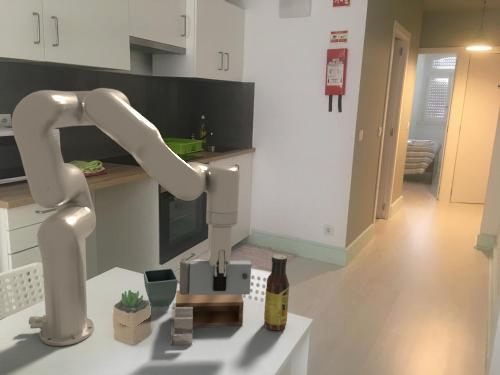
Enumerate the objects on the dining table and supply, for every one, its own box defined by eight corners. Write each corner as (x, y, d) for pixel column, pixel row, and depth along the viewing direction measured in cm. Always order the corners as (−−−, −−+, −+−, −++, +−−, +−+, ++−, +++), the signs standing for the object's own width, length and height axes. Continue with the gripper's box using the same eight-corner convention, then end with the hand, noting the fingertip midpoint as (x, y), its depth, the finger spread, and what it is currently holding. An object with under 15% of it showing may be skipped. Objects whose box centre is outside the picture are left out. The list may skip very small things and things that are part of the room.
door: (179, 296, 101) (179, 265, 100) (179, 290, 104) (180, 260, 103) (250, 295, 103) (251, 265, 102) (248, 290, 106) (250, 260, 105)
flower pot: (178, 308, 121) (178, 279, 119) (147, 312, 118) (147, 282, 116) (172, 295, 129) (172, 267, 127) (143, 298, 126) (142, 270, 124)
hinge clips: (170, 345, 103) (171, 319, 101) (172, 327, 111) (172, 303, 109) (192, 344, 103) (192, 318, 102) (192, 327, 111) (192, 302, 110)
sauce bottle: (285, 333, 111) (289, 262, 107) (261, 329, 112) (265, 259, 108) (287, 321, 117) (292, 254, 113) (265, 318, 118) (269, 251, 114)
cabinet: (175, 327, 111) (175, 303, 109) (176, 313, 118) (176, 290, 117) (242, 325, 113) (243, 302, 112) (239, 312, 121) (240, 289, 119)
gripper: (205, 208, 108) (203, 274, 111) (206, 226, 92) (204, 303, 96) (234, 208, 109) (231, 274, 112) (240, 227, 93) (236, 303, 97)
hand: (219, 287), depth 104 cm, fingers closed on door, 2 cm apart
